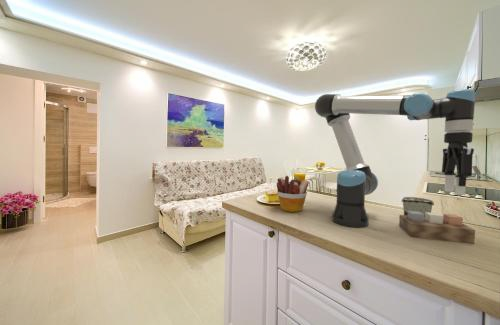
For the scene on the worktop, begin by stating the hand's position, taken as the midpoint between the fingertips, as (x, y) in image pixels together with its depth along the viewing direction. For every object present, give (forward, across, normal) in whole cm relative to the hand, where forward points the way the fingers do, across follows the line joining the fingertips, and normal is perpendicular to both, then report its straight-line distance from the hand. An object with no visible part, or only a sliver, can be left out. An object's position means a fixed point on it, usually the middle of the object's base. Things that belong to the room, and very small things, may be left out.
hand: (454, 192), depth 80 cm
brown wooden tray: (+17, 0, +6) cm, 18 cm away
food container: (+17, +20, +4) cm, 27 cm away
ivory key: (+13, 0, +6) cm, 15 cm away
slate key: (+13, 0, +12) cm, 18 cm away
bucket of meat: (+17, +16, +64) cm, 68 cm away
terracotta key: (+13, 0, 0) cm, 13 cm away
